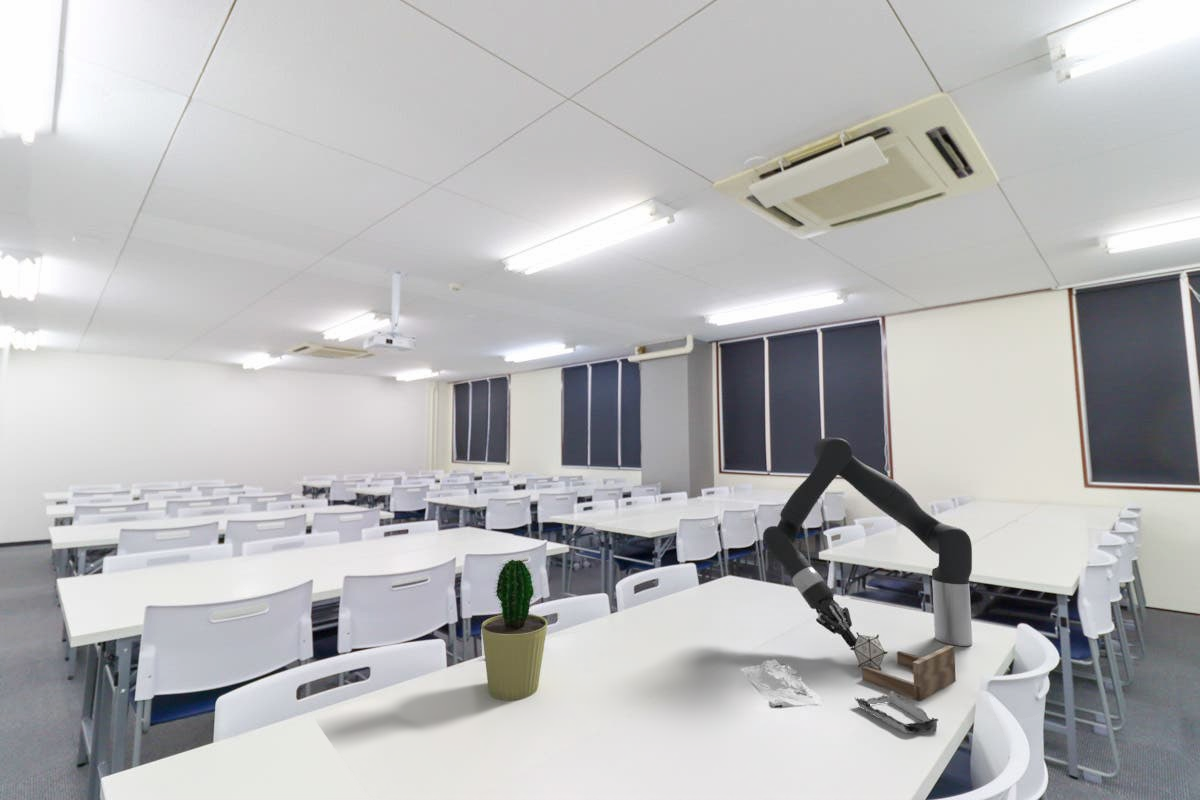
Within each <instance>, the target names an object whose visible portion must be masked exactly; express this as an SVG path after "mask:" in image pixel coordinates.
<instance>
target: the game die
mask: <svg viewBox="0 0 1200 800" xmlns="http://www.w3.org/2000/svg"><path fill="white" fill-rule="evenodd" d="M855 634H856V635H857V637H856V639H857V640H856V643H855V645H854V646H853V647H850V650H851V651H853V652H854V655H855V657H856V659H857V661H858V663H859V664H858V665H857V667H858V668H860V667H861V666H866V667H874V668H878V669H879V670H878V671H882V667H881V665H882V661H883V659H884V656H885V655H887V654H889V652H888V651H885V650H884V648H883V645H882V644H881V642H880V640H879V637H880V634H879V633H878V634H877V635H876V636H871V635H862V634H861V635H860V634H859V632H858V631H856V633H855Z"/></svg>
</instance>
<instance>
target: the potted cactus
mask: <svg viewBox="0 0 1200 800" xmlns="http://www.w3.org/2000/svg"><path fill="white" fill-rule="evenodd" d="M501 567H502V569H501V568H499V570H497V573H498V572H499V573H498V574H497V578H498V579H496V580H495V581H494V582H495V585H496V588H494V592H493V593H495V595H493V596H494V598H496V597H497V599H498V600H497V601H498V603H500V606H498V607H499V608H500V610H499V611H498V613H499V614H500V613H501V614H500V615H496V616H493V617H490V618H488V619H486V620H484V621H483V622H482V624H481V625H480V626H481V636H482V643H483V645H482V646H483V650H484V651H483V652H484V653H483V654H484V661H485V669H486V678H487V687H488V692H489V694H490V695H491V696H492V697H494V698H495V699H499V700H504V701H515V700H521V699H526V698H528V697H531V696H532V695H534V694H535V693H536V692H537V690H538V688H539V683H540V676H541V669H542V662H543V655H544V650H545V643H546V636H547V635H546V634H547V631H548V630H547V629H548V624H549V623H548V622H549V621H548V620H547V618H545V617H544V616H540V615H536V614H532V613H530V608H531V609H532V606H531V602H533V600H532V598H536V596H534V595H536V593H535V589H536V587H534V586H533V580H532V575H533V572H531V571H530V567H529V566H528V565H527V563H526V561H525V559H524V560H523V559H522V560H520V559H517V560H514V559H512V558H511V559H510V560H508V561H507V562H505V563H504V565H501Z"/></svg>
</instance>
